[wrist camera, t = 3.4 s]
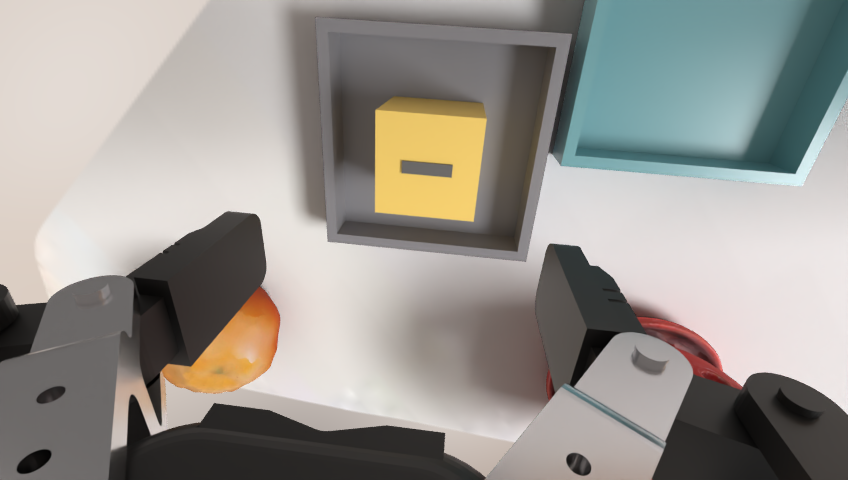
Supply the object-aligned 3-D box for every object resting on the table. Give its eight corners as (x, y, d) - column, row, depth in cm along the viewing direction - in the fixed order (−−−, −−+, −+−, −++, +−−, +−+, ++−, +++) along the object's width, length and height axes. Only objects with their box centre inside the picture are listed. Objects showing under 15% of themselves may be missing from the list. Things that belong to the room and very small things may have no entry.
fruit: (160, 246, 27) (147, 332, 22) (279, 254, 31) (295, 328, 26) (153, 329, 31) (140, 422, 25) (260, 326, 35) (271, 405, 29)
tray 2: (900, -103, 17) (962, -124, 15) (770, 172, 23) (802, 186, 20) (609, -116, 18) (628, -137, 16) (552, 154, 23) (560, 165, 21)
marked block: (483, 103, 22) (486, 119, 17) (472, 188, 24) (473, 222, 20) (394, 96, 22) (375, 110, 18) (391, 181, 25) (374, 213, 20)
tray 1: (561, 34, 21) (572, 33, 18) (521, 243, 26) (525, 261, 24) (330, 19, 21) (315, 16, 19) (338, 225, 27) (327, 241, 25)
